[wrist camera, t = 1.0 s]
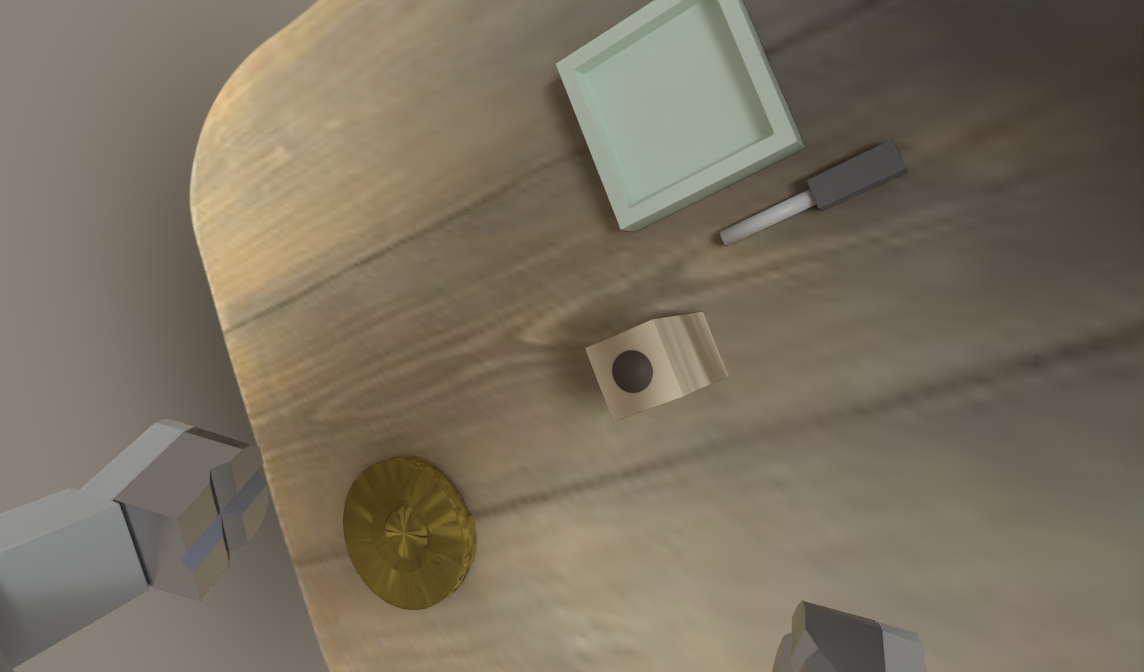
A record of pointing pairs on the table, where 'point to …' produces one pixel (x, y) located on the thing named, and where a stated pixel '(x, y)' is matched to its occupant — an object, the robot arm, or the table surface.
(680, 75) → the tray
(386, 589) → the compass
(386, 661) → the table surface
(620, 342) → the bored block
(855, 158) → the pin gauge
